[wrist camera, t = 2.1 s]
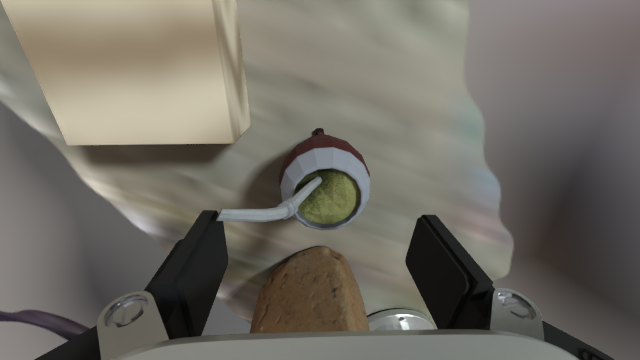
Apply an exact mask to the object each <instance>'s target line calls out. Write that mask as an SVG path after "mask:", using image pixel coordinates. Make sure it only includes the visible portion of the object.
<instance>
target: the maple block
mask: <svg viewBox="0 0 640 360" xmlns="http://www.w3.org/2000/svg"><path fill="white" fill-rule="evenodd" d="M1 2H2V4H3V7H4V9H5V11H6V13H7V15H8V17H9V19H10V22H11V24H12V26H13V28H14V30H15V32H16V35H17V37H18V39H19V41H20V43H21V45H22V48H23V50H24V52H25V54H26V56H27V58H28V61H29V63H30V65H31V67H32V69H33V71H34V74H35V76H36V78H37V80H38V82H39V84H40V87H41V89H42V91H43V93H44V95H45V97H46V99H47V102H48V104H49V106H50V108H51V110H52V112H53V115H54V117H55V119H56V121H57V123H58V125H59V128H60V130H61V132H62V134H63V136H64V138H65V141H66V143H67V145H136V144H229V143H234V142H235V141H236V140H237V139H238V138H239V137H240V136H241V135H242V134H243V133H244V132H245V131H246V130H247V129H248V128H249V127H250V126H251V122H250V114H249V106H248V97H247V89H246V81H245V72H244V64H243V55H242V47H241V39H240V30H239V22H238V14H237V5H236V0H1Z"/></svg>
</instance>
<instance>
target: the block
mask: <svg viewBox="0 0 640 360" xmlns="http://www.w3.org/2000/svg"><path fill="white" fill-rule="evenodd" d="M328 331H370V328H369V324H368V321H367V315H366V311H365V307H364V303H363V299H362V296H361V293H360V289H359V287H358V284H357V282H356V279H355V277H354V274H353V272H352V270H351V268H350V266H349V264H348V262H347V260H346V259H345V258H344V257H343V255H341V254H340V253H338V252H335V251H333V250H332V249H330V248H328V247H326V246H321V247H314V248H310V249H307V250H304V251H301V252H299V253H297V254H296V255H294V256H293V257H291V258H290V259H289V260H288V261H287V262H284V263H283V264H281V265H280V266H279V267H277V268H276V269H275V270H274V272H272V274H271V275H270V277H269V279H268V281H267V283H266V285H265V286H263V287H262V289H261V291H260V294H259V297H258V300H257V304H256V308H255V312H254V316H253V320H252V325H251V330H250V334H255V333H290V332H328Z"/></svg>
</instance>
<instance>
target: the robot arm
mask: <svg viewBox="0 0 640 360" xmlns="http://www.w3.org/2000/svg"><path fill="white" fill-rule="evenodd" d="M218 215H219V214H218V212H217V211H212V210H204V211H202V212H201V214H200V215H199V217H198V218H197V220H196V221H195V223H194V224H193V226H192V227H191V229H190V230H189V232H188V233H187V235H186V236H185V238H184V239H181V240H179V241H178V242H177V243H176V245H175V246H174V248H173V249H172V251H171V252H170V254H169V255H168V256H167V258H166V259H165V261H164V262H163V264H162V265H161V267H160V268H159V269H158V271H157V272H156V274H155V275H154V277H153V278H152V280H151V281H150V282H149V284H148V286H147V287H146V288H145V290H144V291H135V292H130V293H128V294H125V295H122V296H121V297H119V298H117V299H115V300H114V301H113V302H111V303H110V304H109V305H107V306H106V307H105V309H104V310H103V311H102V312H101V313H100V316H99V317H98V319H97V326H95V327H93V328H91V329H89V330H88V331H86V332H84V333H82V334H80V335H78V336H77V337H75V338H73V339H71V340H69V341H68V342H66V343H64V344H62V345H61V346H58V347H57V348H55V349H53V350H51V351H50V352H48V353H46V354H44V355H42V356H40V357H38V358H37V359H35V360H614V359H613V358H611V357H609V356H608V355H606V354H604V353H603V352H601V351H599V350H597V349H595V348H593V347H591V346H590V345H587V344H586V343H584V342H582V341H580V340H578V339H576V338H574V337H573V336H571V335H569V334H567V333H565V332H563V331H561V330H559V329H557V328H556V327H554V326H552V325H550V324H548V323H546V322H544V321H542V316H541V314H540V311H539V310H538V308H537V307H536V306H535V305H534V304H533V303H532V302H531V301H530V300H529V299H528V298H526V297H525V296H523V295H522V294H520V293H518V292H516V291H513V290H510V289H506V288H498V289H496V290H495V289H494V287H493V286H492V284H493V282H492V281H491V279H490V278H489V277H488V276H487V275H486V274H485V272H484V271H483V270H482V269H481V268H480V266H479V265H478V264H477V263H476V262H475V261H474V259H473V258H472V257H471V256H470V255H469V254H468V252H467V251H466V250H465V249H464V248H463V247H462V245H461V244H460V243H459V242H458V241H457V239H456V238H455V237H454V236H453V235H452V234H451V232H450V231H449V230H448V229H447V228H446V227H445V225H444V224H443V223H442V222H441V221H440V219H439V218H438V217H437V216H436V215H422V216H421V218H418V220H417V223H416V226H415V229H414V233H413V236H412V239H411V242H410V246H409V249H408V252H407V256H406V266H407V268H408V270H409V272H410V274H411V276H412V278H413V280H414V282H415V284H416V286H417V288H418V290H419V292H420V294H421V296H422V298H423V300H424V302H425V304H426V306H427V308H428V310H429V312H430V314H431V316H432V318H433V320H434V322H435V324H436V326H437V328H438V329H434V327H433V325H432V323H431V321H430V320H429V319H428V318H427V317H426V316H425V315H423V314H421V313H419V312H416V311H413V310H408V309H392V310H386V311H382V312H379V313H376V314H373V315H371V316H370V317H368V318H367V321H368V324H369V328H370V331H328V332H290V333H255V334H230V335H211V336H210V335H208V336H201V334H202V332H203V329H204V326H205V324H206V321H207V318H208V316H209V313H210V310H211V308H212V305H213V302H214V300H215V297H216V294H217V292H218V289H219V286H220V283H221V281H222V278H223V275H224V273H225V270H226V267H227V264H228V253H227V246H226V239H225V232H224V225H223V221H216V219H217V217H218Z"/></svg>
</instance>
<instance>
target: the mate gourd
mask: <svg viewBox="0 0 640 360" xmlns="http://www.w3.org/2000/svg"><path fill="white" fill-rule="evenodd" d="M279 183H280V190H281V197H282V203H281V204H279V205H277V207H276V208H269V209H221V211H220V213H219V215H218V217H217V219H216V221H239V222H268V221H275V220H280V219H284V220H285V219H287V218H289V217H291V216H292V217H294V218H295V219H296V220H298V221H299V222H301V223H302V224H304V225H305V226H307V227H311V228H315V229H319V230H331V229H337V228H340V227H342V226H344V225H347V224H349V223H351V222H352V221H353V220H354V219H355V218H356V217H357V216H358V215H359V214H360V213H361V212H362V211H363V209H364V207H365V205H366V203H367V201H368V199H369V197H370V174H369V171H368V169H367V166H366V164H365V162H364V159H363V157H362V155H361V154H360V153H359V152H358V151H357V150H355V149H354V148H353V147H352V146H351V145H350V144H349V143H348V142H347V141H344V140H341V139H338V138H335V137H332V136H329V135H324V131H323V129H322V128H317V129H315V136H314V137H311V138H309V139H308V140H306V141H304V142H302V143H300V144H299V145H297V146H296V147H295V148H294V149H293V151H292V152H291V153H290V154H289V155H288V156H287V157H286V159H285V161H284V164H283V167H282V170H281V173H280V176H279Z"/></svg>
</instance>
